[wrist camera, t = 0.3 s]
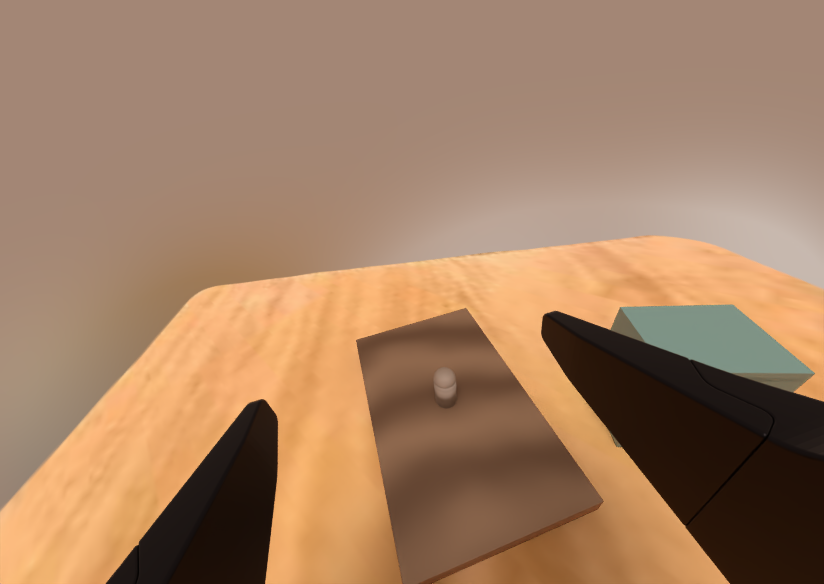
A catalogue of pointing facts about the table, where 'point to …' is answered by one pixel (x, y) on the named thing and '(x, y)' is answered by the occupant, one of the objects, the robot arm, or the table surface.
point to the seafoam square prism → (715, 341)
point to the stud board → (462, 449)
